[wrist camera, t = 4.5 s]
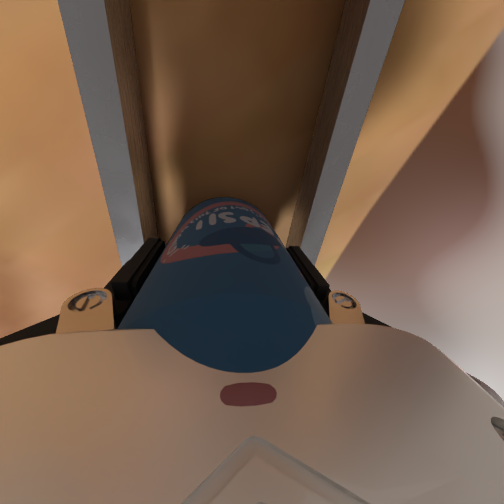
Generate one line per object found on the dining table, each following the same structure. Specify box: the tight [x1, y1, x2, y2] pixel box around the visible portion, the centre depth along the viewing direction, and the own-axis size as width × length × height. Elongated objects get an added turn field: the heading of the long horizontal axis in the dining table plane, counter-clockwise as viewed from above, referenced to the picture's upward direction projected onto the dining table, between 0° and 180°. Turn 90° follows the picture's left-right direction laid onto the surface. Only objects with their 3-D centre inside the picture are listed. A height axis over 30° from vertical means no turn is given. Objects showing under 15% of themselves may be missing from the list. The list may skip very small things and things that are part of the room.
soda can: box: [117, 197, 333, 407], centre depth 9 cm, size 7×7×12 cm
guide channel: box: [58, 0, 405, 267], centre depth 10 cm, size 26×13×2 cm, turn 172°
